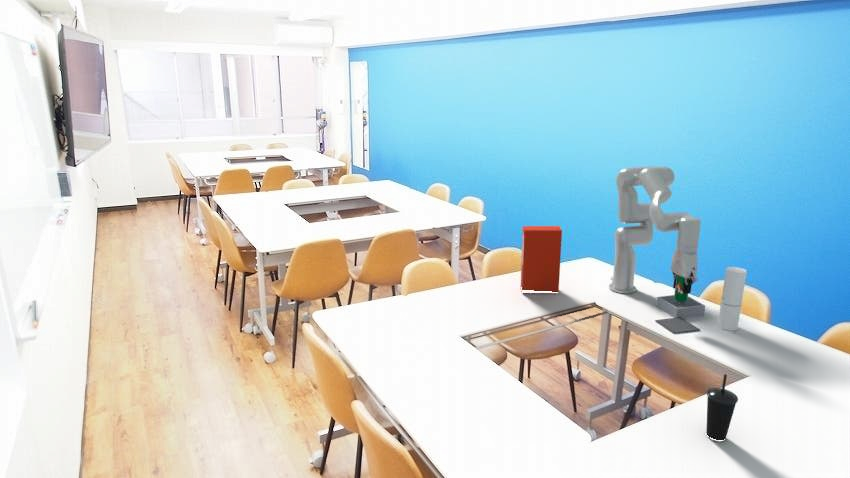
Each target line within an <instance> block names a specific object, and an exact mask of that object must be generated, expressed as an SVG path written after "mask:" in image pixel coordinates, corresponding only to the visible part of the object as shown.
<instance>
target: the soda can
mask: <svg viewBox="0 0 850 478" xmlns="http://www.w3.org/2000/svg"><path fill="white" fill-rule="evenodd" d="M689 280H690V278H688V281H689ZM684 284H685V278H683V277H681V276H679V275H677V277H676V285H675V289H674V294H673V295H674V299H675V300H676V301H678V302H686V301H687V300H688V296H689V293H687V294H684V293H683V286H684Z"/></svg>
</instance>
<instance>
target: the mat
mask: <svg viewBox="0 0 850 478" xmlns="http://www.w3.org/2000/svg"><path fill="white" fill-rule="evenodd" d="M654 322H656V324H658V325H660V326H661V327H663V328H665V330H667V331H669V332H670V333H671V334H673V335H674V334H683V333H691V332H700V331H701V329H700V328H699V327H698V326H696V325H694V324H692V323H691V322H689V321H688V320H686V319H684V318H681V317H677V318H674V317H669V318H660V319H655V321H654Z"/></svg>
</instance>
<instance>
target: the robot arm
mask: <svg viewBox="0 0 850 478" xmlns="http://www.w3.org/2000/svg"><path fill="white" fill-rule="evenodd" d="M675 176H676V175H675V173H674V171H673V170H672V168H671V167H669V166H635V167H633V166H632V167H625V168H622V169H621V170H620V171H618V173H617V175H616V181H615V182H616V183H615V184H616V188H617V192H618V205H617V206H618V207H617V208H618V209H617V213H618V215H617V216H618V221H619V222H620V223H622V224H638V225H627V226H626V225H625V226H620V227H618V228H617V229H616V230H615V232H614V237H613V238H614V247H615V250H614V264H613V265H614V266H613V276H611V277H610V280H612V282H611V283H610V284H609V285H608V289H609V290H610V291H613V292H615V293H619V294H633V293H636V292H637V287H636V286H635V285H634V280H635V271H636V262H637V254H636V252H635V250H634V248H633V247H636V246H646V245H649V244H650V243H652V241H653V237H654V226H655V228H656V229H657V230H658V231H660V232H663V233H668V232H678V233H677V241H676V248H674V249H675V250H674V251H673V255H672V258H671V263H670V264H671V265H670V271H671V272H672V275H673V276H672V278H673V285H672V287H673V289H674V290H675V285H676V277H677V275H679V276H681V277H683V278H685V284H684V286H683V293H684V294H687V293H688V294H691V291H692V286H693V284H694V283H695V282H697V281H698V280H699V278H698V276H697V273H698V261H699V260H698V249H699V248H698V247H699V239H700V232H701V224H702V222H701V219H700V218H698V217H696V216H692V214H690V213H688V212H684V211H683V212H682V211H681V212H666V213H665V212H664V211H663V210H662V209H661V206H662V205H663V204H664V203H666V202H667V201H668V200H669V199H670V198H671V197H672V196H673V195H672V194H673V192H672V189H671V188H670V187H669V186H671V185H672V184H673V183H674V182H675V178H676V177H675ZM637 186H643V187H642V188H644V190H645V192H646V193H647V195H648V196H649V198H650V200H651V201H650V203H648V202H639V201H638V200H639V195H638V191H637V190H636V188H635V187H637ZM660 205H661V206H660ZM688 278H690V280H689V281H688Z"/></svg>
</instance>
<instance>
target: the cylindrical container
mask: <svg viewBox="0 0 850 478" xmlns="http://www.w3.org/2000/svg"><path fill="white" fill-rule="evenodd" d="M747 272H748V271H747V269H745V268H743V267H739V266H738V267H737V266H728V267H726V268H725V275H724V280H723V281H724V282H723V286H722V287H723V288H722V295H721V301H720V307H719V314H718V320H717V327H718V328H720V329H721V330H724V331H728V332H734V331H735V332H736V331H737V330H738V327H739V321H740V315H741V310H742V304H743V303H742V302H743V297H744V296H743V295H744V291H745V285H746V279H747Z"/></svg>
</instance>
